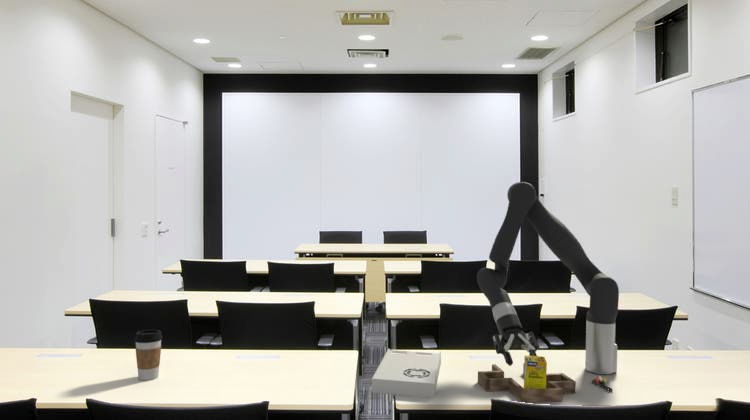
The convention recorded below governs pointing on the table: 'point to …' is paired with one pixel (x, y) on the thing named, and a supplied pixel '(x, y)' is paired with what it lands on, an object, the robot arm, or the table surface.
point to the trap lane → (553, 392)
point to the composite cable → (601, 383)
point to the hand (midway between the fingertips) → (523, 363)
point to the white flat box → (407, 374)
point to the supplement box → (535, 372)
